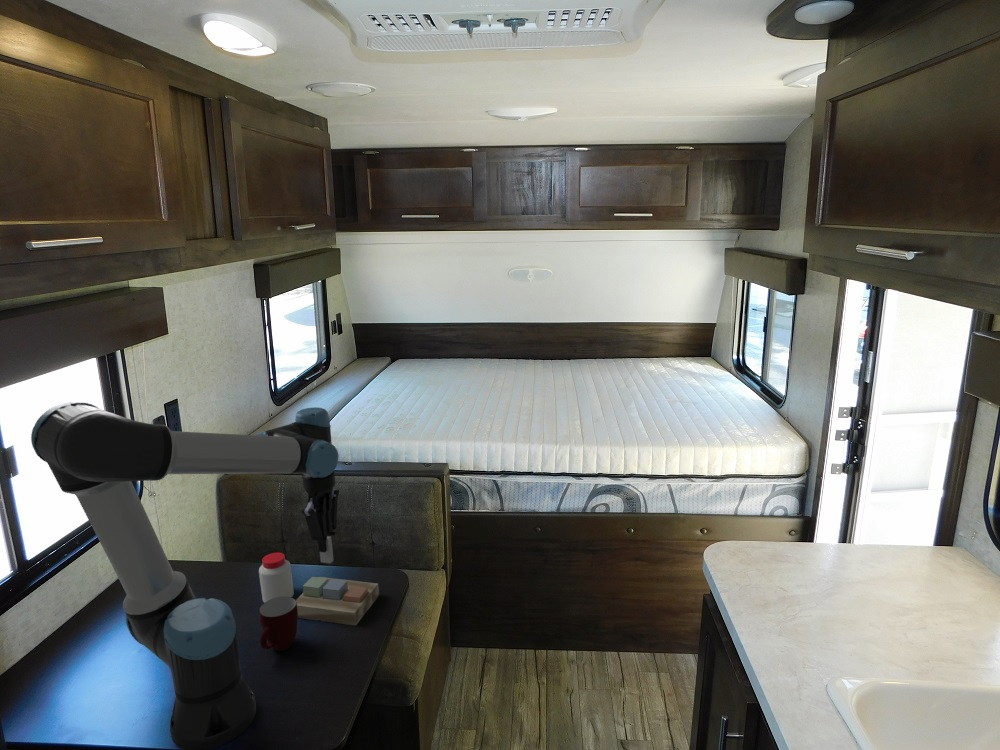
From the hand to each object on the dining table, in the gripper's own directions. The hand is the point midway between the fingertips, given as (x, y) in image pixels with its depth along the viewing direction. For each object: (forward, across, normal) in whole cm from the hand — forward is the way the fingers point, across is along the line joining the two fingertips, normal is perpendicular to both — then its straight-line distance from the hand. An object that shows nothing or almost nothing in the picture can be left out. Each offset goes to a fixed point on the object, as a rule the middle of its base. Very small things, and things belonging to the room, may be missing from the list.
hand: (327, 561), depth 157 cm
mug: (+13, -18, +2) cm, 22 cm away
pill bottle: (+13, 0, +16) cm, 20 cm away
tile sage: (+9, 0, +4) cm, 10 cm away
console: (+12, 0, -2) cm, 12 cm away
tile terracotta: (+11, 0, -7) cm, 13 cm away
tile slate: (+9, 0, -2) cm, 9 cm away
